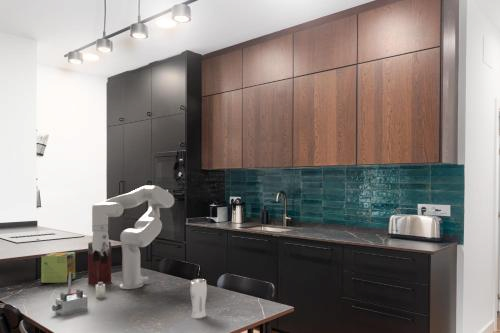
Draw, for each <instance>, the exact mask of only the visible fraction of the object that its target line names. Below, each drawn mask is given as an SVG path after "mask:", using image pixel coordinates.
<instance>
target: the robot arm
mask: <svg viewBox="0 0 500 333" xmlns="http://www.w3.org/2000/svg"><path fill="white" fill-rule="evenodd" d="M146 202H147V203H148V204H147V206H148V207H147V211H146V212H145V213H144V214H143V215H142V216H141V217H139V218H138V220H137V221H135V224H134V228H126V229H124V230H122V232H121V233H120V235H119V236H120V238H119V239H120V246H121V254H122V256H121V258H122V259H121V261H122V262H121V264H122V265H121V266H122V267H121V268H122V269H121V270H122V272H121V274H122V282H121V283H120V284H119V289H121V290H133V289H139V288H141V287H143V286H144V281H149V276H142V275H141V251H140V248H145V247H147V246H148V245H150V244H151V243H152V242H153V241H154V240H155V239H156V237H158V235H159V234H160V233H161V232H162V231H161V230H162V228H163V223H162V220H161V219H160V217H161V213H160V208H162V209H163V208H164V209H167V208H169V209H170V208H171V207H173V206H174V204H175V197H174V195H172V193H171V192H168V190H166V189H164V188H163V187H160V186H158V185H143V186H140V187H139V188H136V189H135V190H131V191H130V192H128V193H127V192H126V193H124V194H120V195H117V196H114V197H111V198H108V199H106V200H104V201H102V202H100V203H95V204H93V205H92V207H91V217H92V219H91V227H92V228H91V232H92V238H91V239H92V240H91V242H92V250H93V251H92V253H93V261H99V253H98V252H101V255H102V256H101V264H106V263H108V250H109V240H110V239H109V232H108V231H109V218H117V217H120V216H122V215H123V213H124V210H125V209H132V208H136V207H137V206H139V205H141V204H144V203H146Z"/></svg>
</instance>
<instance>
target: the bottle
mask: <svg viewBox="0 0 500 333" xmlns="http://www.w3.org/2000/svg"><path fill="white" fill-rule="evenodd" d="M105 297H106V284H103V282H98V284H97V285H95V299H102V298H103V299H104V298H105Z"/></svg>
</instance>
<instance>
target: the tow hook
mask: <svg viewBox="0 0 500 333" xmlns="http://www.w3.org/2000/svg"><path fill="white" fill-rule="evenodd" d="M67 284H68V287H67V293H66V294H67V296H69V295H73V294H76V292H72V280H71V272H70V273H69V281H68V282H67Z"/></svg>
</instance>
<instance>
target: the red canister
mask: <svg viewBox="0 0 500 333" xmlns="http://www.w3.org/2000/svg"><path fill="white" fill-rule="evenodd" d="M87 247H88V248H87V254H88V255H87V263H88V264H87V265H88V267H87V269H88V270H87V272H88V273H87V276H88V279H87V282H88V284H89V285H92V284H93V286H96V285H97V284H98V282H103V284H105V285H106V284H109V283H111V282H112V242H111V241H109V250H108V263H106V264H101V256H102V255H101V252H98V253H99V261H93V253H92V251H93V250H92V241H89V242H88V243H87Z"/></svg>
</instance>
